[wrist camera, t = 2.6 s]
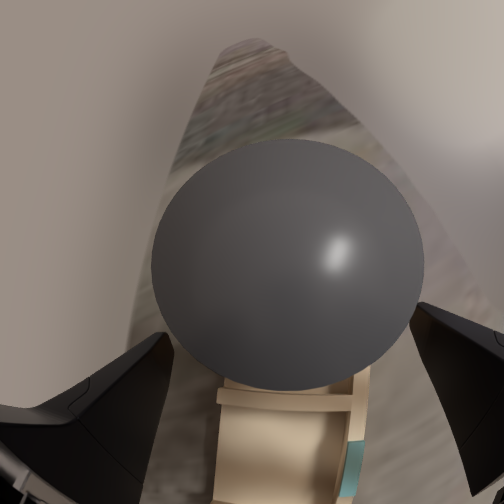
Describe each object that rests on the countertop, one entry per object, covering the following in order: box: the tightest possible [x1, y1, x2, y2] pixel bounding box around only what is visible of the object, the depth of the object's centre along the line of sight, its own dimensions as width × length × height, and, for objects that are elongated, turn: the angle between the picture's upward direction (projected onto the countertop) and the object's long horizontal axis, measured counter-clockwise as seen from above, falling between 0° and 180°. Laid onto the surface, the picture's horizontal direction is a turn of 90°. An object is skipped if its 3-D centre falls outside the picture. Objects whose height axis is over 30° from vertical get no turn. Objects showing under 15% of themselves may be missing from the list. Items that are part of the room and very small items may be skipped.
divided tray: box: [210, 365, 370, 504], centre depth 15 cm, size 19×9×3 cm, turn 175°
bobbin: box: [151, 139, 424, 391], centre depth 11 cm, size 6×6×13 cm
